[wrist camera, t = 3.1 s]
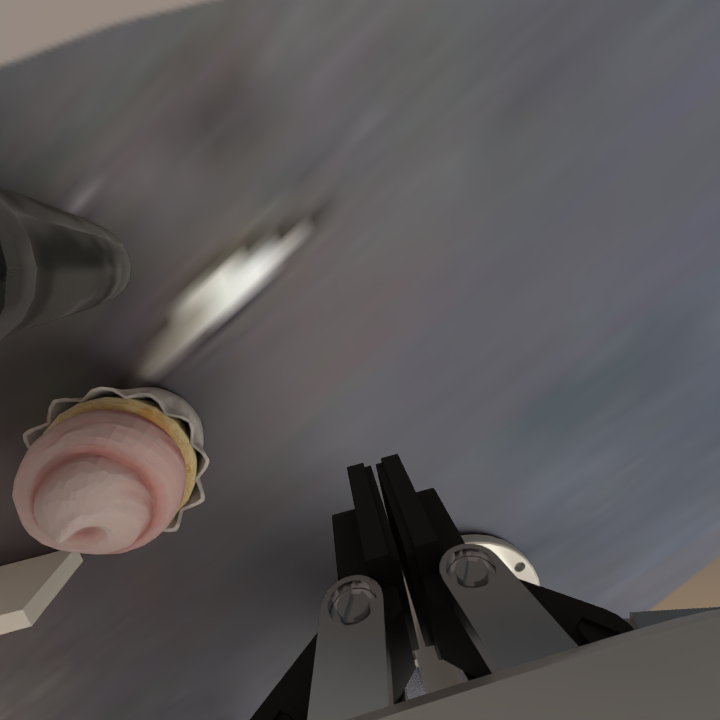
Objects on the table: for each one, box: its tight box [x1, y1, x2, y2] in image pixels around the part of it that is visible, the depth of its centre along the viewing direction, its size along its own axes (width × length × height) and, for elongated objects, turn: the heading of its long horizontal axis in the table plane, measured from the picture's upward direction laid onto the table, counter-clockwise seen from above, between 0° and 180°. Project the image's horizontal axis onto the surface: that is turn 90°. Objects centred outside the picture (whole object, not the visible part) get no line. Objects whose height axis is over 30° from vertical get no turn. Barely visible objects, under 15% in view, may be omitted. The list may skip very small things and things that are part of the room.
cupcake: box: [12, 387, 210, 554], centre depth 20 cm, size 9×9×10 cm
